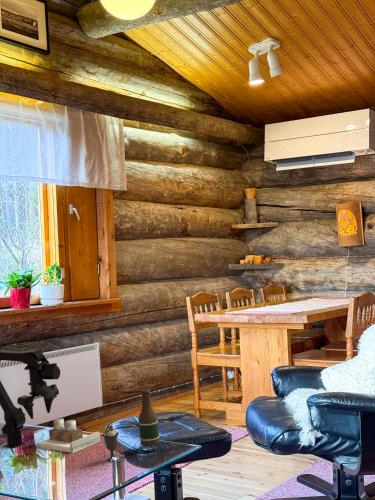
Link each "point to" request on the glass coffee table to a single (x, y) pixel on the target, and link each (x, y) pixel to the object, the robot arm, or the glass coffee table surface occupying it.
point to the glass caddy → (65, 431)
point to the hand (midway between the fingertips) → (40, 415)
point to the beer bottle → (148, 421)
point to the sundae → (110, 440)
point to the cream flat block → (72, 446)
